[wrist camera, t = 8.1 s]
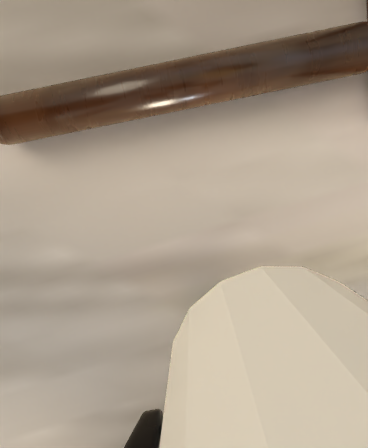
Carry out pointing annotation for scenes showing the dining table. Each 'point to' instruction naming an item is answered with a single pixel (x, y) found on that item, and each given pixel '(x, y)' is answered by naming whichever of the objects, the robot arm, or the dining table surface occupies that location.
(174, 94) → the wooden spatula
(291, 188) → the dining table surface
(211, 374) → the white cup
